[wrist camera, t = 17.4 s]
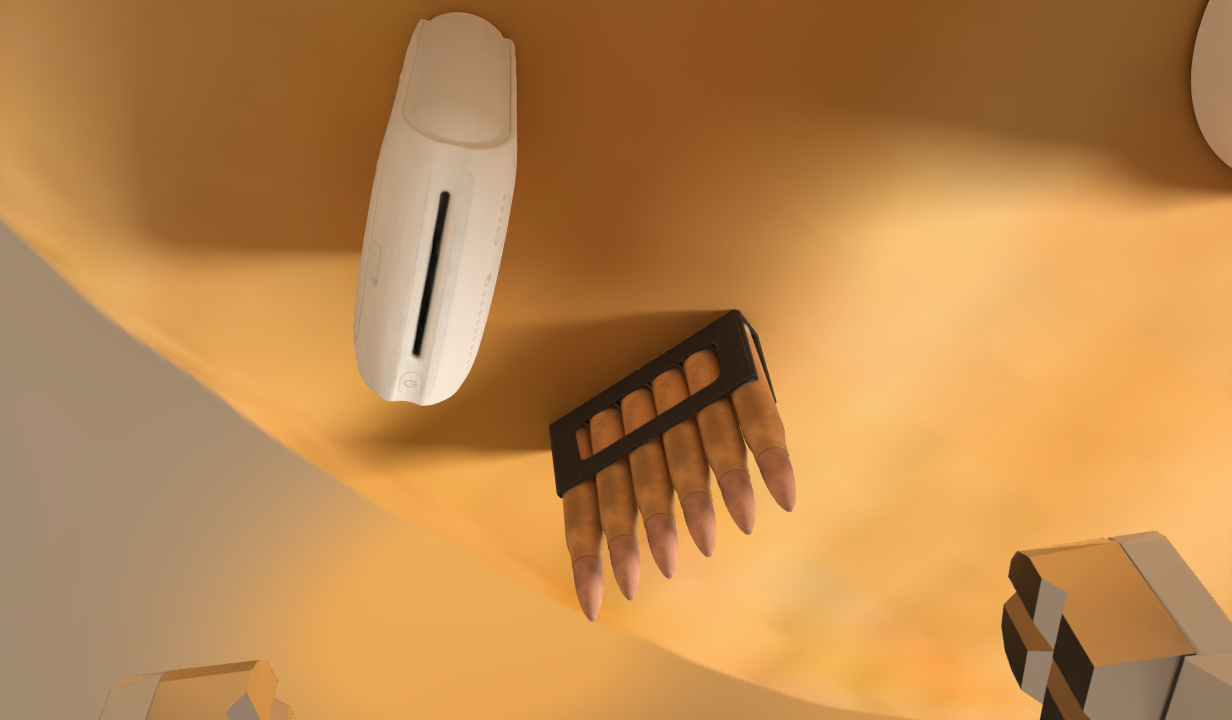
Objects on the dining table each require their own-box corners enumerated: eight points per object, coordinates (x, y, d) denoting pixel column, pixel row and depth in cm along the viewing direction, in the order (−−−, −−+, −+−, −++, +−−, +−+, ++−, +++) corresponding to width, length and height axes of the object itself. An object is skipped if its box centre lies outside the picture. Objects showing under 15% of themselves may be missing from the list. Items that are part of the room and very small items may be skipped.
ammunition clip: (737, 307, 46) (800, 482, 36) (758, 334, 47) (824, 512, 37) (547, 426, 49) (557, 619, 39) (571, 449, 50) (586, 643, 40)
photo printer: (477, 262, 43) (468, 444, 33) (375, 243, 42) (333, 423, 32) (528, 24, 38) (535, 153, 28) (412, -4, 37) (376, 119, 27)
